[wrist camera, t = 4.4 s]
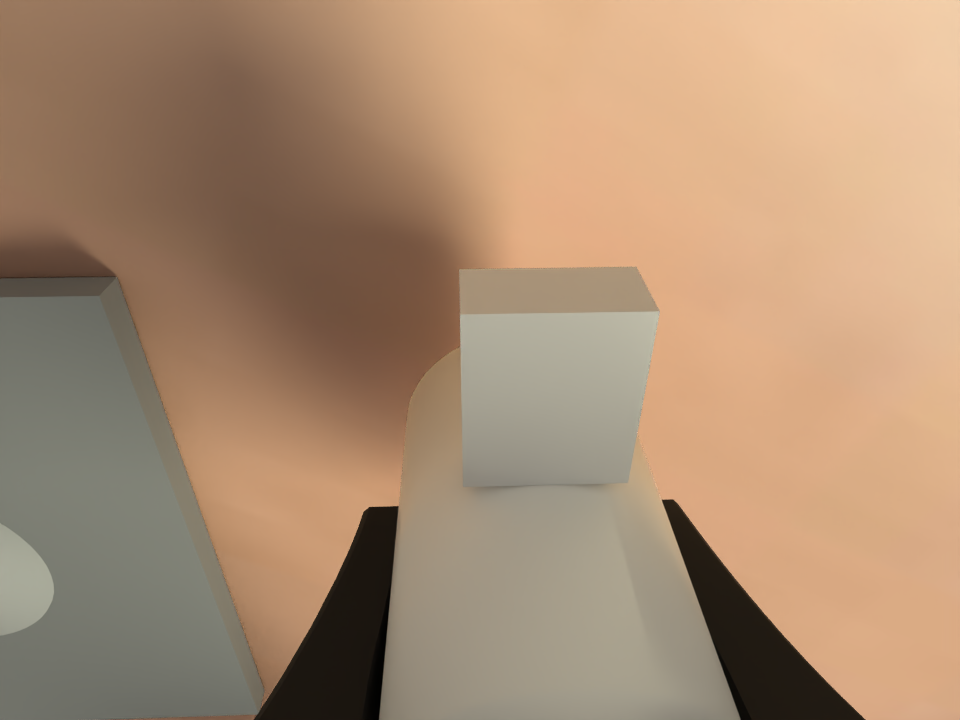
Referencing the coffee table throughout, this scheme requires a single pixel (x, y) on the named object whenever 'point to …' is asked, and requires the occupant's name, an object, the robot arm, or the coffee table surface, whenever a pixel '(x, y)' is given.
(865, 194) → the coffee table surface
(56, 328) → the mat
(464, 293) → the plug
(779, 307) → the coffee table surface
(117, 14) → the coffee table surface
